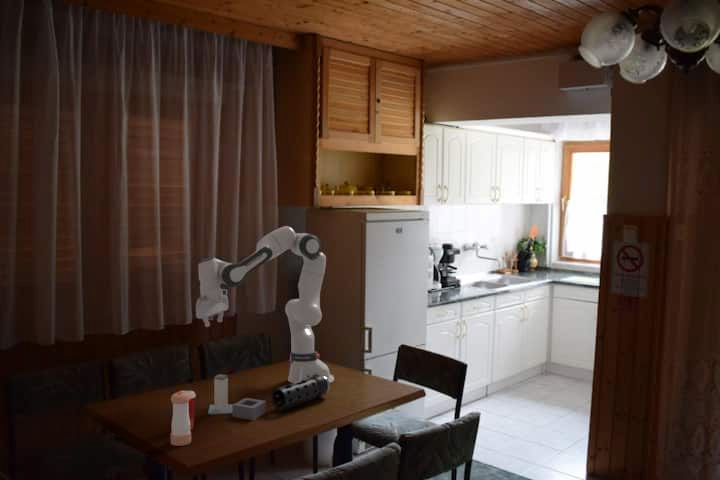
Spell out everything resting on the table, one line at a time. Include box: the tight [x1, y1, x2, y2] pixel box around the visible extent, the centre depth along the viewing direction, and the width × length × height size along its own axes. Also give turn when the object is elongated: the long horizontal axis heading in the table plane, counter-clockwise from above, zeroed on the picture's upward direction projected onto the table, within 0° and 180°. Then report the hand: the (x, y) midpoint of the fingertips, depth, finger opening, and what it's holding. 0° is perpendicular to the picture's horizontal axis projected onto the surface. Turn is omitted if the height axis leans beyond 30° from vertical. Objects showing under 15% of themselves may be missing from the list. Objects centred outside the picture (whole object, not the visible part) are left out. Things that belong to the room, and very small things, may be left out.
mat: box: [207, 403, 234, 415], centre depth 280 cm, size 10×10×1 cm
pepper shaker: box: [170, 390, 192, 447], centre depth 244 cm, size 7×7×19 cm
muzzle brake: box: [270, 375, 331, 412], centre depth 289 cm, size 10×28×10 cm, turn 141°
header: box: [231, 397, 267, 421], centre depth 274 cm, size 10×10×5 cm
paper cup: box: [181, 390, 197, 431], centre depth 258 cm, size 8×8×14 cm
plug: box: [213, 374, 229, 411], centre depth 279 cm, size 4×4×14 cm
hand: (214, 324), depth 300 cm, fingers open, 8 cm apart
